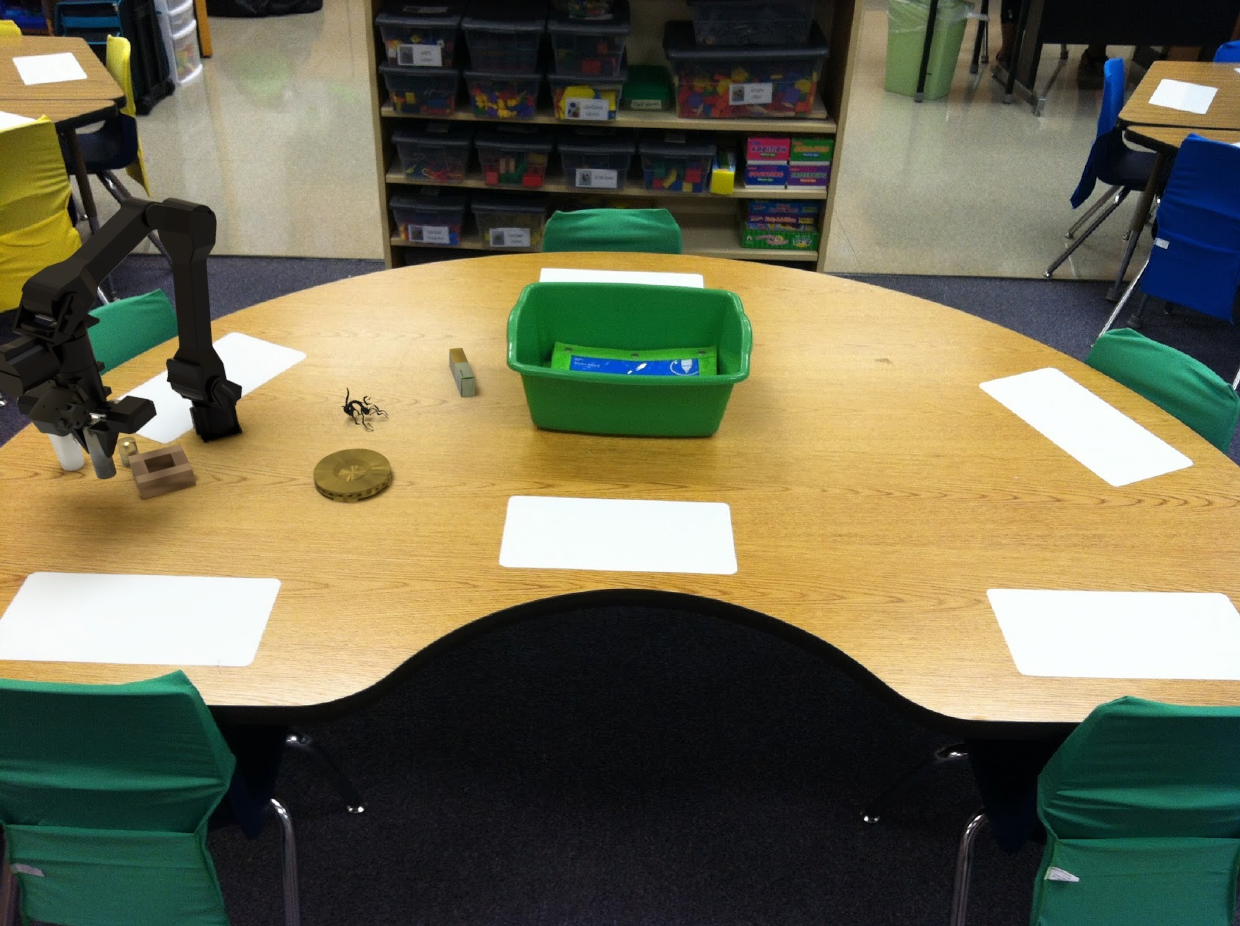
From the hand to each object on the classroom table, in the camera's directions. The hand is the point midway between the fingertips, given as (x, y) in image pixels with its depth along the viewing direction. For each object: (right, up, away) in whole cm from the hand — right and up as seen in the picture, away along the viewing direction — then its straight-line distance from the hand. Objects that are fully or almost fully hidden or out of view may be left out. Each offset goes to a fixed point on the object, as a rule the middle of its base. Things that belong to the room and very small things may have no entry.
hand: (101, 454), depth 154 cm
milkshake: (-10, -2, +13) cm, 16 cm away
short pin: (-2, -1, +14) cm, 14 cm away
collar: (+5, -4, +11) cm, 12 cm away
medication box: (+47, +14, +39) cm, 63 cm away
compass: (+34, -4, +13) cm, 37 cm away
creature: (+33, +6, +27) cm, 43 cm away
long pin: (0, -3, +2) cm, 4 cm away
